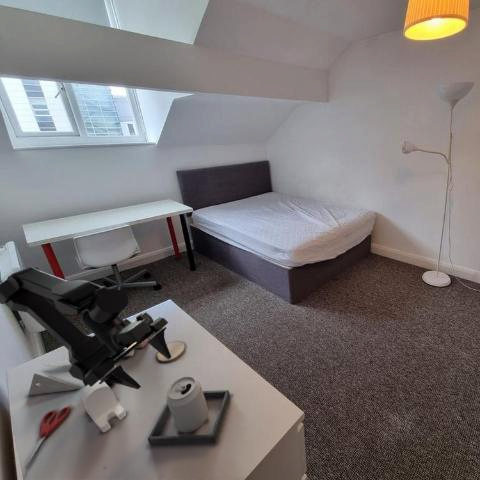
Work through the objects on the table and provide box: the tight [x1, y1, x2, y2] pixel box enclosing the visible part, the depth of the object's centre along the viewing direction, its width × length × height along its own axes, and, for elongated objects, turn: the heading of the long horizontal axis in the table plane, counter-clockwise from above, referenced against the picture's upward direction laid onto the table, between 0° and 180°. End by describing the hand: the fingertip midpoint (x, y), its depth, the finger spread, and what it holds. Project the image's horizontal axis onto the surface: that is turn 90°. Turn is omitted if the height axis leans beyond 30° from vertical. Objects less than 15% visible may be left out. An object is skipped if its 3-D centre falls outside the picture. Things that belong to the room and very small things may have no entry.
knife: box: [44, 348, 135, 368], centre depth 85 cm, size 26×2×5 cm
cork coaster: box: [156, 341, 186, 363], centre depth 88 cm, size 8×8×1 cm
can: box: [165, 375, 209, 433], centre depth 65 cm, size 8×8×12 cm
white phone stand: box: [79, 380, 127, 433], centre depth 68 cm, size 5×10×10 cm, turn 58°
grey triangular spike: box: [28, 372, 81, 396], centre depth 79 cm, size 6×5×13 cm
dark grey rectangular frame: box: [147, 389, 231, 447], centre depth 67 cm, size 15×12×2 cm
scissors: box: [23, 406, 72, 469], centre depth 65 cm, size 5×14×1 cm, turn 17°
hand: (155, 372), depth 66 cm, fingers open, 9 cm apart
